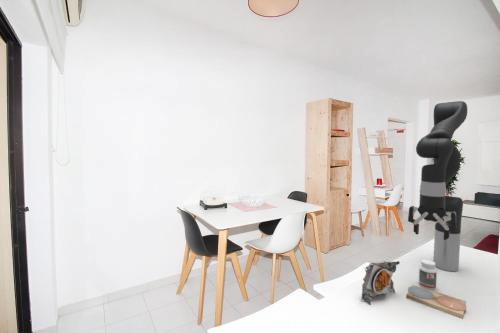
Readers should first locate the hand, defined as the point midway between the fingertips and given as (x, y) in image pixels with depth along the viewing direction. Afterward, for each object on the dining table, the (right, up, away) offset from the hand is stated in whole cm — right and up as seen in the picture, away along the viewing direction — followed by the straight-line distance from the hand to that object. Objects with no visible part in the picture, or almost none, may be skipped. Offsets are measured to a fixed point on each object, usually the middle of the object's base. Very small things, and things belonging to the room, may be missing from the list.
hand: (430, 236), depth 92 cm
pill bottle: (+4, -22, +8) cm, 24 cm away
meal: (-18, -23, +1) cm, 29 cm away
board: (0, -23, -2) cm, 23 cm away
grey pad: (-3, -22, +1) cm, 22 cm away
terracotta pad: (+3, -22, -5) cm, 23 cm away
